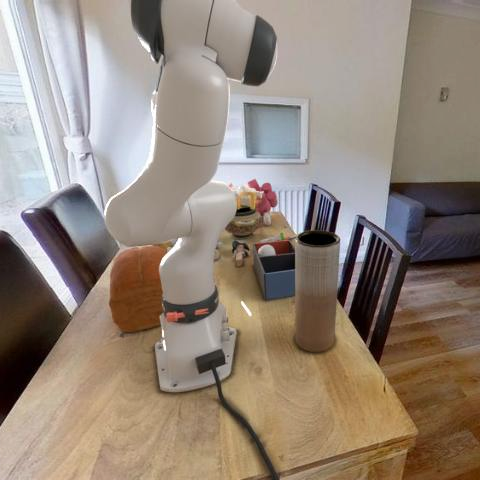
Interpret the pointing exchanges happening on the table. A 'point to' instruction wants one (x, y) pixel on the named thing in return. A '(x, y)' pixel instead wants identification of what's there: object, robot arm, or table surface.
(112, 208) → the robot arm
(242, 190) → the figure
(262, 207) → the toy
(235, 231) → the ceramic bowl
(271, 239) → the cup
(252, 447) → the table surface
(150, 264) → the bread
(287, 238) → the scissors
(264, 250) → the lollipop
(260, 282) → the sorting bins
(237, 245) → the toy figure
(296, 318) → the planter
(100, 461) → the table surface
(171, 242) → the figurine
